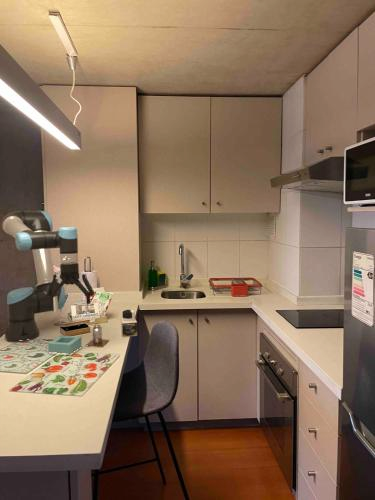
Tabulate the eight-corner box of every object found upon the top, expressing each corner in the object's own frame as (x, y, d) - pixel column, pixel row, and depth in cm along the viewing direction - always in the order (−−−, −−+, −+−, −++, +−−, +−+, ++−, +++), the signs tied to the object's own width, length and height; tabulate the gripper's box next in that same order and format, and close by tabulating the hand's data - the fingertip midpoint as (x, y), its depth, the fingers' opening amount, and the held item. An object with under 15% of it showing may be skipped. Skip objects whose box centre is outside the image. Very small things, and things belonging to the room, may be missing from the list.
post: (85, 346, 167) (85, 327, 166) (93, 340, 174) (92, 322, 174) (102, 347, 165) (101, 328, 164) (109, 341, 173) (108, 323, 172)
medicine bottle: (122, 337, 178) (121, 312, 177) (121, 332, 185) (120, 309, 184) (137, 335, 180) (136, 311, 179) (135, 331, 187) (134, 308, 186)
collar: (48, 354, 157) (48, 343, 156) (60, 346, 167) (60, 335, 166) (70, 356, 155) (70, 344, 154) (81, 347, 165) (81, 336, 164)
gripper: (37, 264, 156) (39, 313, 158) (95, 263, 155) (97, 313, 157) (44, 262, 163) (46, 309, 165) (100, 261, 163) (101, 308, 165)
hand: (71, 311), depth 161 cm, fingers open, 13 cm apart
